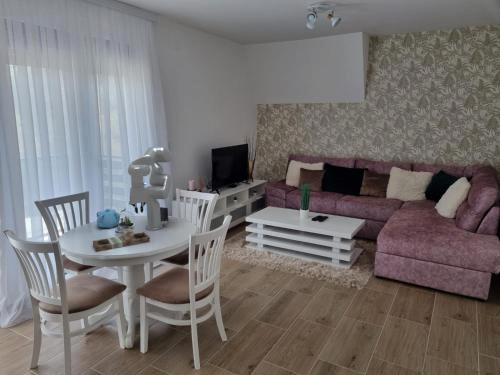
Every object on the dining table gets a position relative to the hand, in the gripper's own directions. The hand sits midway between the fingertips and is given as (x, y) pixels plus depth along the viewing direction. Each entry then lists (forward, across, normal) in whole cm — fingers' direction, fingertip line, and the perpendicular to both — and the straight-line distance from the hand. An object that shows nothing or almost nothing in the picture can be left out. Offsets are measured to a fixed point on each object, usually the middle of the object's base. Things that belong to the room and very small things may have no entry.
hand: (139, 212), depth 235 cm
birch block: (+16, +8, 0) cm, 18 cm away
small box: (+19, -26, -36) cm, 49 cm away
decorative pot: (+19, +12, -44) cm, 49 cm away
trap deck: (+19, +12, 0) cm, 23 cm away
